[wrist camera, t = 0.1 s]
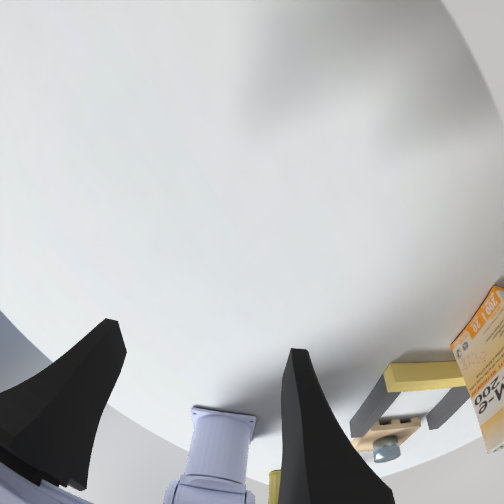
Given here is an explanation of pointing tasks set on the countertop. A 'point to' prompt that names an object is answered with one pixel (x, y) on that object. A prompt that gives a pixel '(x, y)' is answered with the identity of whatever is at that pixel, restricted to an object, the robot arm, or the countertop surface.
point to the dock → (413, 379)
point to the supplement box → (485, 366)
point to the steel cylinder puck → (386, 449)
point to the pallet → (386, 433)
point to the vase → (274, 486)
